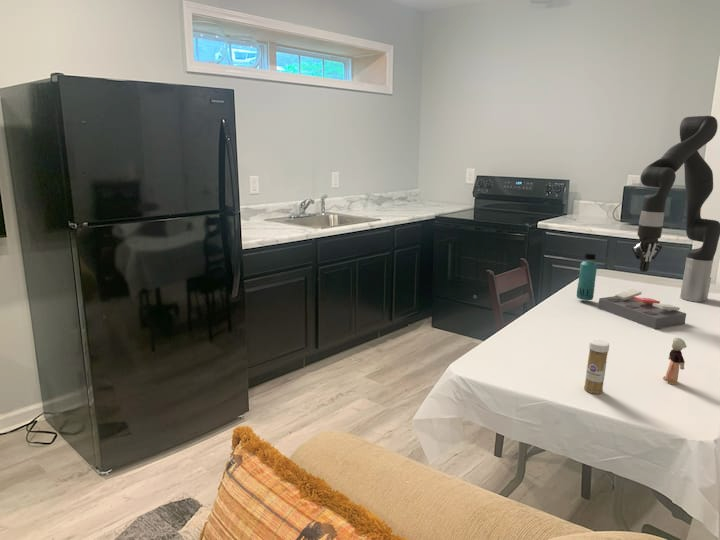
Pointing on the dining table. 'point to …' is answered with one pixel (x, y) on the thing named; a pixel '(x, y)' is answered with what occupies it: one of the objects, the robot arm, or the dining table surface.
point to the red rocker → (646, 300)
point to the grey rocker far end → (666, 306)
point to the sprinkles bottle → (596, 366)
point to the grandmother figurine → (675, 361)
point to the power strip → (642, 312)
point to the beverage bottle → (587, 278)
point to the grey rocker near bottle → (628, 294)
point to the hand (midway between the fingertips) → (643, 271)
